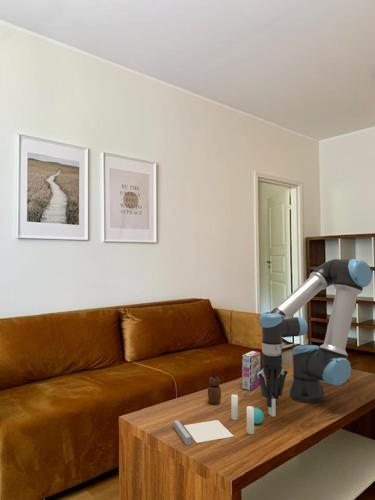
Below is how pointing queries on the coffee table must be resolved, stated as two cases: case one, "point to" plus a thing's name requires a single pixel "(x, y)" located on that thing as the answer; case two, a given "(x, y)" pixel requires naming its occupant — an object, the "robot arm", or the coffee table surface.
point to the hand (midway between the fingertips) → (272, 414)
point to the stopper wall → (182, 432)
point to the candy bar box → (250, 370)
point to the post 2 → (250, 420)
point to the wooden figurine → (214, 389)
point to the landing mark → (207, 431)
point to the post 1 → (234, 407)
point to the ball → (258, 416)
